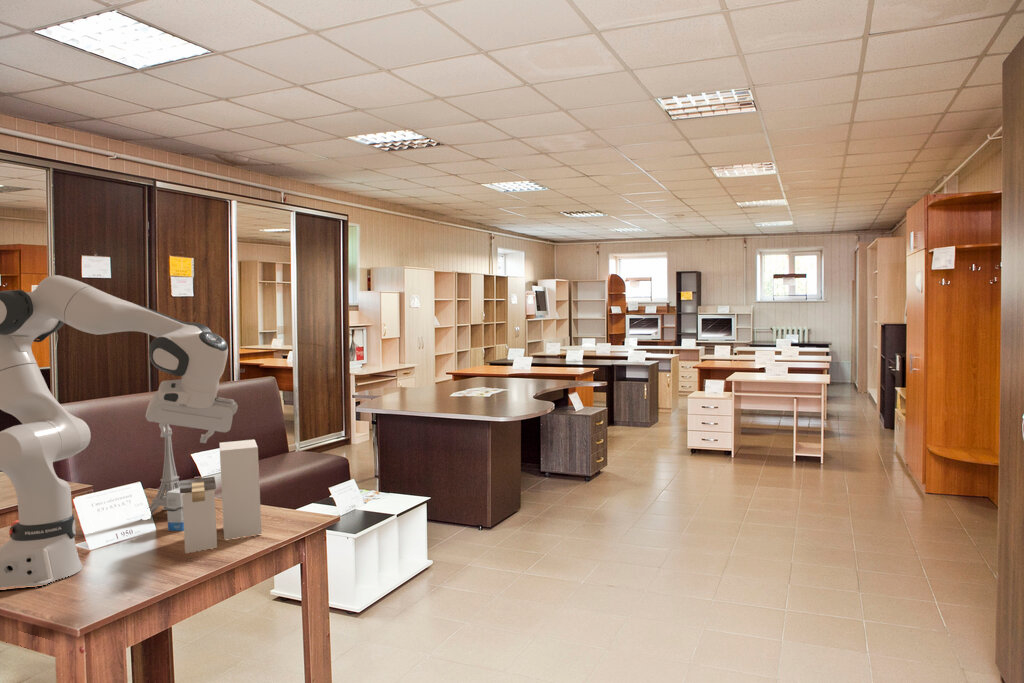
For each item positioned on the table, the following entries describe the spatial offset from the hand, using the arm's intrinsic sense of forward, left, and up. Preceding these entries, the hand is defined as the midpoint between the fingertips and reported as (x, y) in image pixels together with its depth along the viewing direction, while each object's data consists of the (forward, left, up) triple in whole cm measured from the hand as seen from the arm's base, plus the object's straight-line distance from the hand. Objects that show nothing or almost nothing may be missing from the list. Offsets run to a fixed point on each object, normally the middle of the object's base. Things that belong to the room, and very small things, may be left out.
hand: (183, 439), depth 176 cm
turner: (+3, +11, -16) cm, 20 cm away
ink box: (-2, +35, -33) cm, 48 cm away
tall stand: (+14, +21, -32) cm, 41 cm away
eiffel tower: (-6, +52, -33) cm, 62 cm away
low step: (+3, +15, -32) cm, 36 cm away
